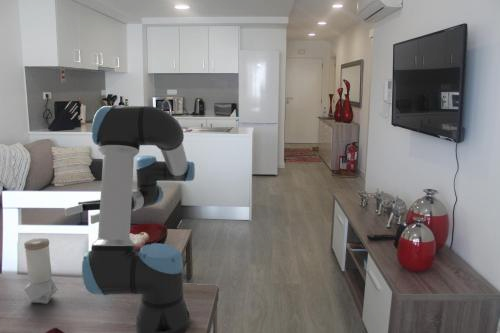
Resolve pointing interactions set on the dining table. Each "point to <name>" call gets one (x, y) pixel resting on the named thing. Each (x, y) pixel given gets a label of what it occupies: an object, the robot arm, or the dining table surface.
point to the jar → (38, 260)
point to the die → (41, 291)
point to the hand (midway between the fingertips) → (77, 216)
